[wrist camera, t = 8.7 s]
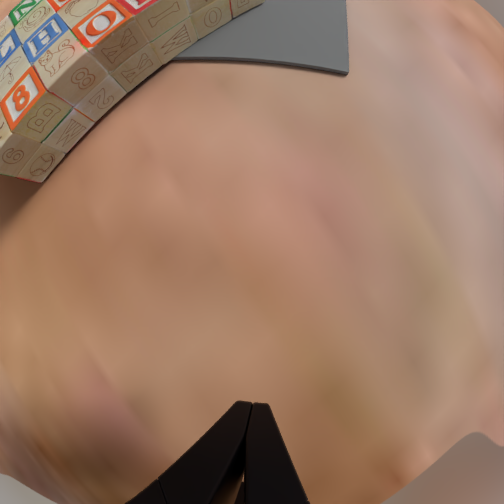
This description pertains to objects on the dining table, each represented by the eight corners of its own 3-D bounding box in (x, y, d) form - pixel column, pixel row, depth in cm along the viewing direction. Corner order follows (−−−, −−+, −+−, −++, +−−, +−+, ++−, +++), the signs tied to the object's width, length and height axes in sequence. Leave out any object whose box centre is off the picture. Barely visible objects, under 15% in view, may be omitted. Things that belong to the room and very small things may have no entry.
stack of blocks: (268, 4, 17) (180, -51, 17) (270, -54, 11) (168, -95, 10) (40, 185, 18) (-1, 95, 18) (-19, 173, 12) (-43, 73, 11)
